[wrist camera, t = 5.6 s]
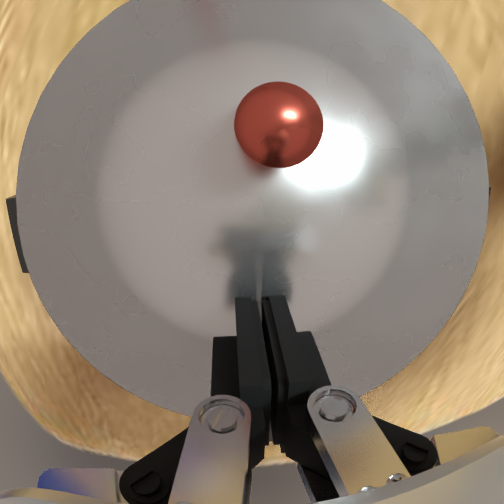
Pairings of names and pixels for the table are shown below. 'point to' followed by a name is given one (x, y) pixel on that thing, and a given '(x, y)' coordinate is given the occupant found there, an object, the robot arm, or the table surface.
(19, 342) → the table surface
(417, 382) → the table surface
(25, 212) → the lid
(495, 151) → the table surface
